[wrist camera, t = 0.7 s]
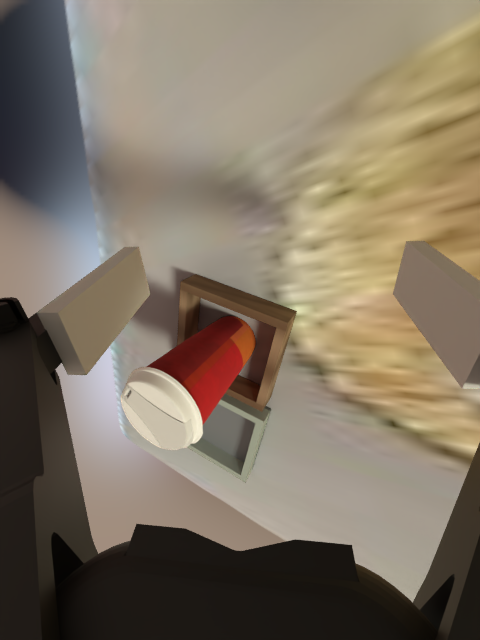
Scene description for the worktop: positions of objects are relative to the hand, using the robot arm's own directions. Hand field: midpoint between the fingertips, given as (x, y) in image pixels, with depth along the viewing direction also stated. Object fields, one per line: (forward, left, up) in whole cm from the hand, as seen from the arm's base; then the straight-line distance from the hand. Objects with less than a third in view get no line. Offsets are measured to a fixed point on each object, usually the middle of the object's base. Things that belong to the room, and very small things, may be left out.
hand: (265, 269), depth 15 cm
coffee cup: (+16, -7, -15) cm, 22 cm away
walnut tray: (+16, -7, -14) cm, 22 cm away
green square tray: (+31, -7, -14) cm, 35 cm away
